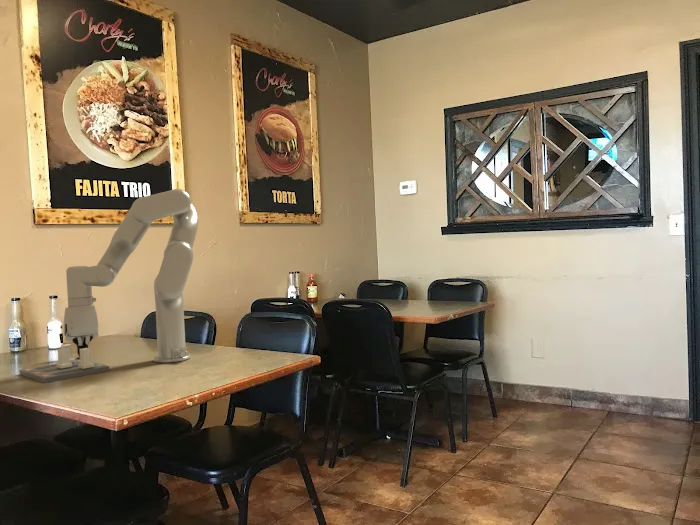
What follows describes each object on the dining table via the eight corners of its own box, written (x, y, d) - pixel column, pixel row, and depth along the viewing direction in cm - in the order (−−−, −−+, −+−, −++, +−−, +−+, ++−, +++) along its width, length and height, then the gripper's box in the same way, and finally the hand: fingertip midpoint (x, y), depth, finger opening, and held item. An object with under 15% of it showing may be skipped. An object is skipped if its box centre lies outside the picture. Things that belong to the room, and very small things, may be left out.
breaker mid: (72, 366, 193) (71, 348, 193) (61, 368, 191) (59, 350, 190) (67, 365, 196) (66, 347, 196) (56, 367, 193) (55, 349, 193)
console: (109, 370, 193) (109, 365, 193) (45, 383, 179) (45, 377, 179) (80, 363, 208) (80, 358, 208) (19, 374, 193) (19, 369, 193)
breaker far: (75, 361, 201) (74, 344, 201) (64, 363, 199) (63, 346, 198) (70, 360, 204) (69, 343, 204) (59, 362, 201) (58, 345, 201)
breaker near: (94, 366, 191) (93, 348, 191) (83, 368, 189) (82, 350, 188) (89, 365, 194) (88, 347, 194) (78, 367, 191) (77, 349, 191)
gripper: (97, 300, 205) (100, 351, 206) (52, 304, 194) (55, 359, 195) (107, 300, 200) (109, 354, 201) (61, 305, 189) (64, 361, 190)
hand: (83, 356), depth 198 cm, fingers closed
